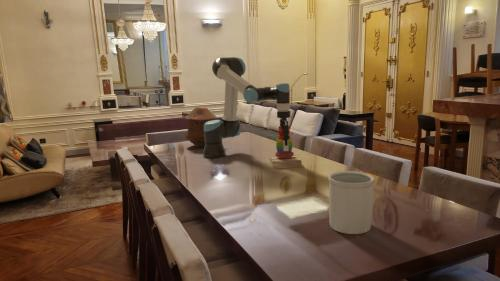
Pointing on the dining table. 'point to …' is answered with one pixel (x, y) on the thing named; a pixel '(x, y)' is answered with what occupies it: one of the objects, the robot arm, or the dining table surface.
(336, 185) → the utensil holder
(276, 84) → the robot arm
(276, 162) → the maple block
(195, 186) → the dining table surface
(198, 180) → the dining table surface
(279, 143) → the stacking bear
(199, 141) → the pottery vessel
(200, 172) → the dining table surface
